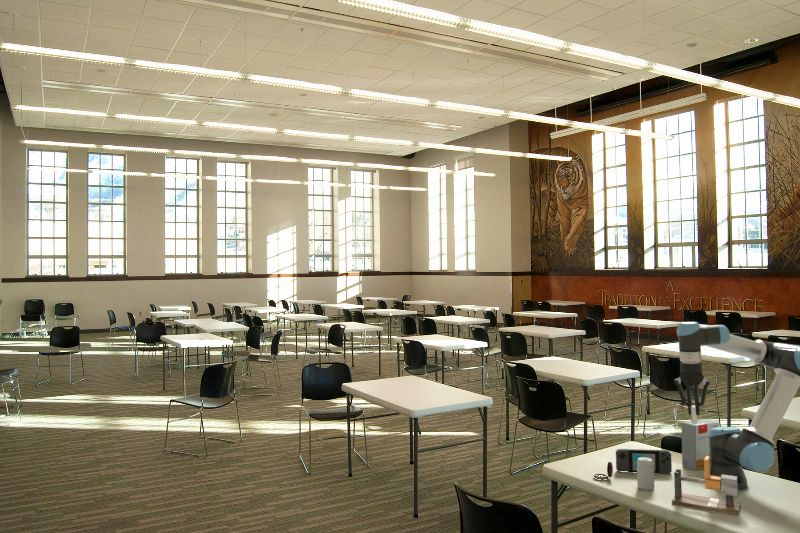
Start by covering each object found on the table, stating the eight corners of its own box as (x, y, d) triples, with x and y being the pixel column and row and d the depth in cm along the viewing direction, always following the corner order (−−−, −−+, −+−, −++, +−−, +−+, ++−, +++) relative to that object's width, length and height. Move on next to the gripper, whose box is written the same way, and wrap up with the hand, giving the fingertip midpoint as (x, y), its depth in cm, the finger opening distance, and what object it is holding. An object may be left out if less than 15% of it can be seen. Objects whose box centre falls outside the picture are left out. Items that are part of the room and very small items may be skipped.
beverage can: (637, 490, 244) (636, 460, 244) (637, 485, 250) (636, 456, 250) (654, 491, 241) (653, 461, 242) (654, 486, 248) (653, 457, 248)
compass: (591, 476, 262) (591, 459, 262) (610, 476, 261) (609, 459, 261) (595, 482, 254) (595, 465, 254) (615, 483, 253) (614, 465, 253)
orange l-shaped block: (706, 485, 228) (705, 455, 228) (721, 487, 225) (720, 457, 226) (705, 489, 224) (704, 459, 224) (720, 491, 221) (719, 461, 221)
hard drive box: (696, 471, 265) (694, 425, 266) (681, 466, 272) (680, 422, 273) (720, 465, 272) (719, 421, 272) (706, 461, 279) (704, 418, 279)
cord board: (676, 496, 236) (675, 465, 237) (740, 506, 224) (739, 474, 224) (671, 504, 228) (670, 472, 228) (738, 516, 216) (737, 482, 216)
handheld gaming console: (617, 473, 266) (616, 450, 266) (616, 471, 268) (615, 448, 269) (672, 474, 262) (671, 451, 262) (670, 472, 264) (669, 449, 264)
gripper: (670, 363, 233) (674, 423, 233) (708, 364, 226) (712, 426, 226) (674, 360, 239) (677, 419, 239) (710, 361, 232) (714, 422, 232)
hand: (694, 423), depth 232 cm, fingers closed
